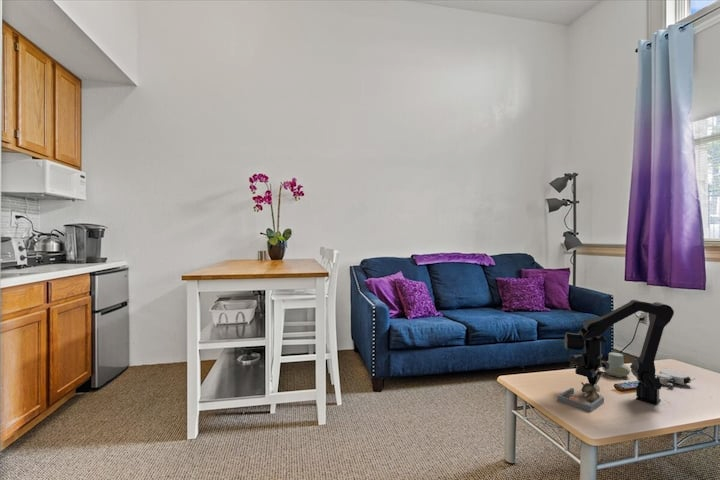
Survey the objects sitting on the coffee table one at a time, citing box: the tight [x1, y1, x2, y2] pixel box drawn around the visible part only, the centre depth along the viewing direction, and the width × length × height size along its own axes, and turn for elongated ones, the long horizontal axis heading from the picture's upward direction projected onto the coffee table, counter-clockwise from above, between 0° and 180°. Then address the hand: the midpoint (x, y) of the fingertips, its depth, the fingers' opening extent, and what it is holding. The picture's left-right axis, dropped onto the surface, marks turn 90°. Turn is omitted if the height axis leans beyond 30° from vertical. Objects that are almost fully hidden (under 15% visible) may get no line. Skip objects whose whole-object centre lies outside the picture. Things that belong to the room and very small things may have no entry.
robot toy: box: [655, 368, 697, 387], centre depth 165 cm, size 12×4×15 cm
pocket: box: [556, 387, 605, 413], centre depth 145 cm, size 12×13×3 cm
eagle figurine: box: [580, 381, 601, 404], centre depth 148 cm, size 8×7×9 cm
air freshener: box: [601, 351, 631, 378], centre depth 174 cm, size 11×8×10 cm
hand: (592, 388), depth 153 cm, fingers closed
